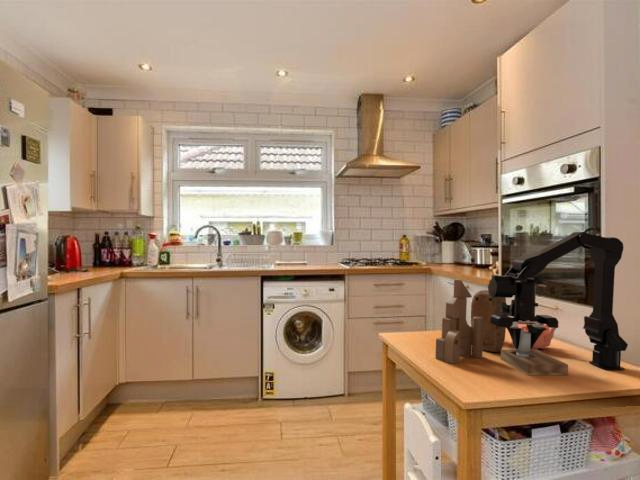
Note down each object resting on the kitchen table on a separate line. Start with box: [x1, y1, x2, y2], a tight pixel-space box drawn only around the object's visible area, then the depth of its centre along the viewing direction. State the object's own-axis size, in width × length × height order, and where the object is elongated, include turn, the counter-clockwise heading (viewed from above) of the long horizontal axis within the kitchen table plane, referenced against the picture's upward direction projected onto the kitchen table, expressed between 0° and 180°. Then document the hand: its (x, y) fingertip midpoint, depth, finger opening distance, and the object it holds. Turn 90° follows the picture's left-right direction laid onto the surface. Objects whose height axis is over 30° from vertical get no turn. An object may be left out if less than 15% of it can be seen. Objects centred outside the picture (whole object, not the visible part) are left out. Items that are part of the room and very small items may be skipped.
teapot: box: [518, 324, 557, 351], centre depth 138 cm, size 14×12×10 cm
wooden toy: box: [435, 278, 484, 365], centre depth 123 cm, size 15×7×25 cm, turn 122°
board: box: [500, 349, 569, 376], centre depth 117 cm, size 12×14×3 cm
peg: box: [514, 331, 531, 357], centre depth 118 cm, size 4×4×8 cm
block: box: [470, 289, 507, 353], centre depth 134 cm, size 11×8×20 cm
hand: (522, 348), depth 118 cm, fingers closed on peg, 4 cm apart
